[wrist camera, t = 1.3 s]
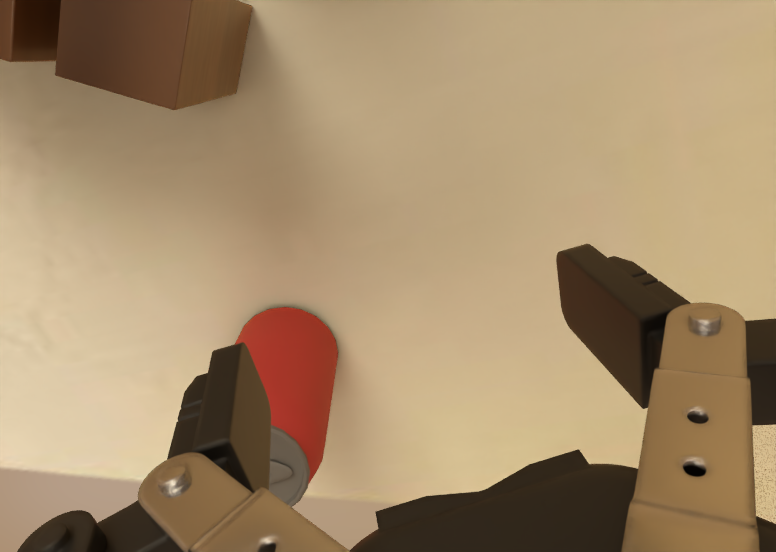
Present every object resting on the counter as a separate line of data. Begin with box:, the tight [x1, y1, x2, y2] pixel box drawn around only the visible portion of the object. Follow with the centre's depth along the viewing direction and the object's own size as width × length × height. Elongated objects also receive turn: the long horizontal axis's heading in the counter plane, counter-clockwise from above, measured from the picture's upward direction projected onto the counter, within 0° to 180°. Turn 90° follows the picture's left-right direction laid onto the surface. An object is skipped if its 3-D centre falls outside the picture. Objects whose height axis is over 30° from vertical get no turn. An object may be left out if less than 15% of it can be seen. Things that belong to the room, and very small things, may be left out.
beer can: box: [235, 307, 338, 507], centre depth 32 cm, size 7×7×12 cm
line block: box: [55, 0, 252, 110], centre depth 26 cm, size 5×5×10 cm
